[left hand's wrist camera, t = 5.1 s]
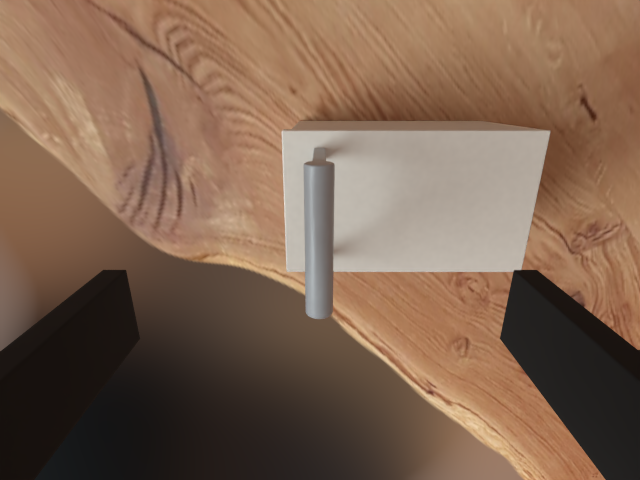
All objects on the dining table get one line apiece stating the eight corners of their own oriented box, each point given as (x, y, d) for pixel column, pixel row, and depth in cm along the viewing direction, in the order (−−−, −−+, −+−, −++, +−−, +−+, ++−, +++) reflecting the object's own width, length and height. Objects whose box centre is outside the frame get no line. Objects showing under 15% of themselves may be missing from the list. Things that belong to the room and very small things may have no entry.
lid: (287, 266, 27) (274, 334, 19) (283, 129, 24) (264, 144, 16) (515, 266, 27) (593, 334, 19) (543, 129, 24) (652, 144, 16)
